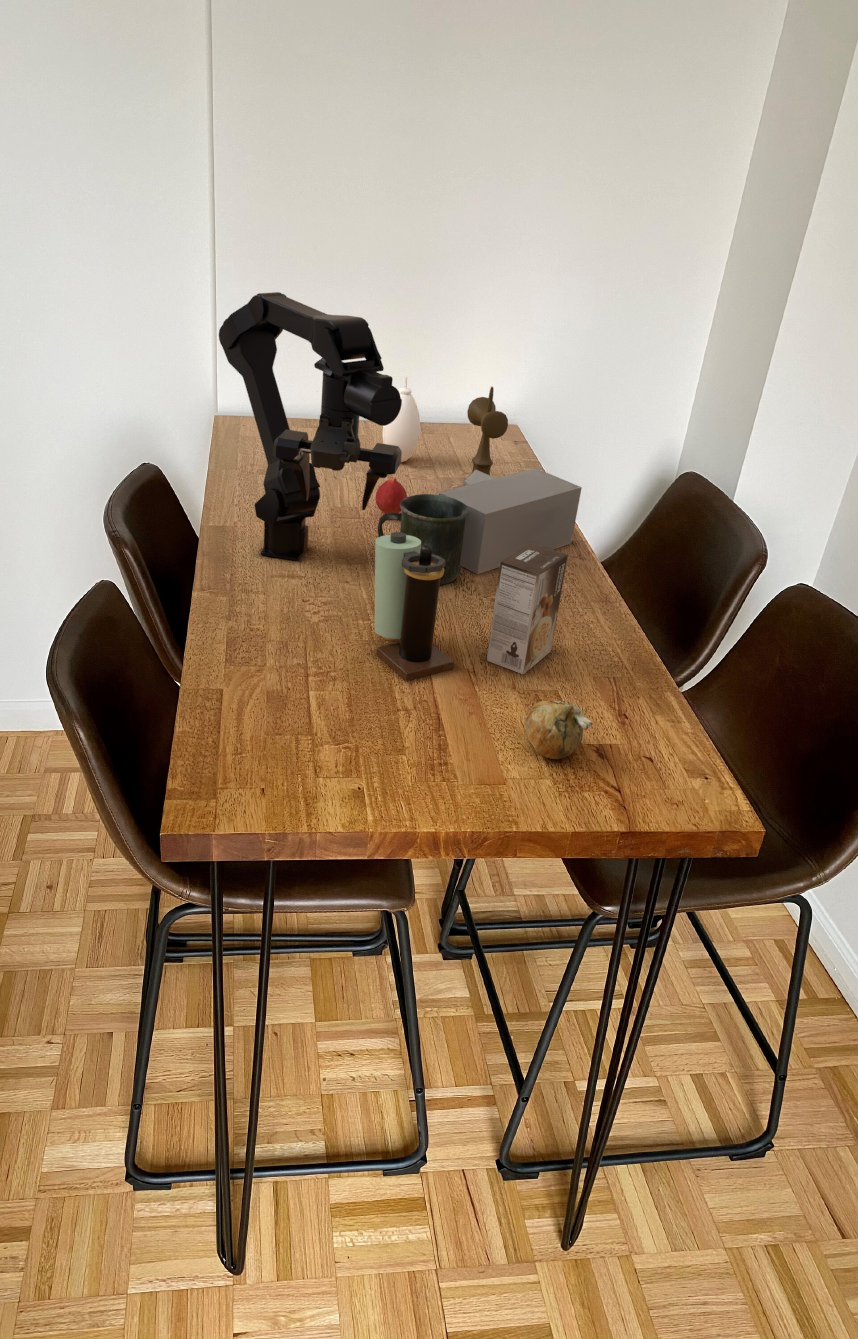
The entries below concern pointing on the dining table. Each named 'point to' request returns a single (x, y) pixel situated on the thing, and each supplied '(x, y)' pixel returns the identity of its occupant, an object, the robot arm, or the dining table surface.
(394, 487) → the onion
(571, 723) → the onion
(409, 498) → the mug
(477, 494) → the plain grey rectangular block
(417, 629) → the black cylinder with base
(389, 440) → the sauce bottle
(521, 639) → the coffee box
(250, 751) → the dining table surface
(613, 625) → the dining table surface
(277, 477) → the robot arm
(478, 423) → the kendama
